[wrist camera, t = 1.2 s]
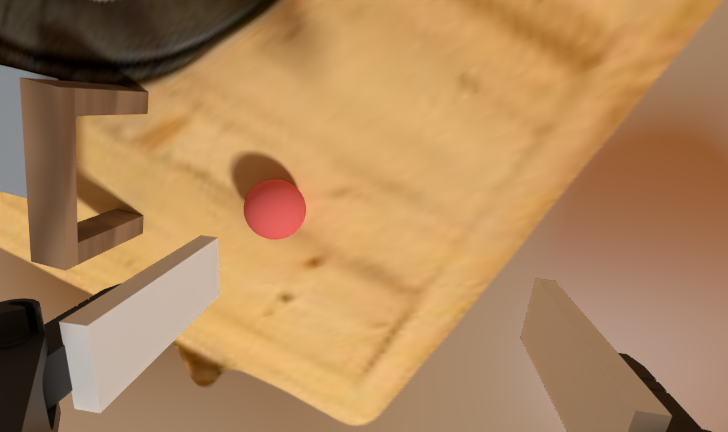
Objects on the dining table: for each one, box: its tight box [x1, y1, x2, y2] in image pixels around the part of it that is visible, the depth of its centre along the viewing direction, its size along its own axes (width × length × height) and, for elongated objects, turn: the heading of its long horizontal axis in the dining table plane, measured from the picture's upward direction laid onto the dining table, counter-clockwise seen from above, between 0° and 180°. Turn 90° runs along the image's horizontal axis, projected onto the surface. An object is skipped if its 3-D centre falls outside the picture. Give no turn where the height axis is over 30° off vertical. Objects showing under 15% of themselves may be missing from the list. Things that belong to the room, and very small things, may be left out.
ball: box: [244, 179, 306, 239], centre depth 33 cm, size 6×6×6 cm
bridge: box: [19, 77, 148, 270], centre depth 32 cm, size 3×14×9 cm, turn 167°
